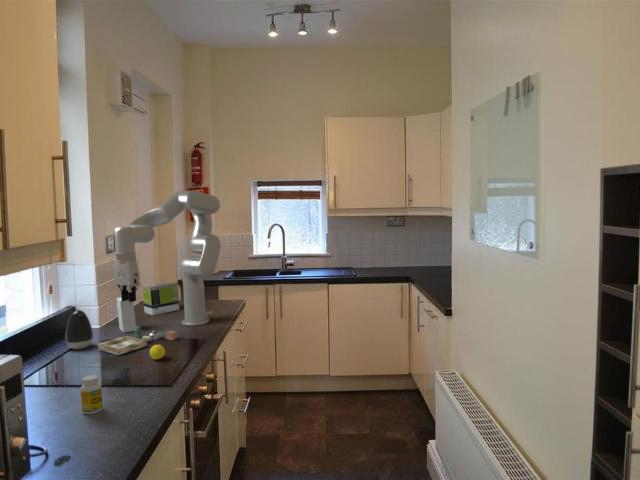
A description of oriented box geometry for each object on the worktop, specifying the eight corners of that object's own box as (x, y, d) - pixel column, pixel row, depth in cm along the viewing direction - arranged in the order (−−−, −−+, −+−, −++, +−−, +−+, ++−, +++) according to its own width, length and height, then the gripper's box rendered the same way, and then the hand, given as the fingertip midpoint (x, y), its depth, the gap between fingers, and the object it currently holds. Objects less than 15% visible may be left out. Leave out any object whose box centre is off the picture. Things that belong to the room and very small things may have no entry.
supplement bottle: (93, 405, 145) (91, 373, 144) (107, 408, 143) (105, 375, 142) (77, 412, 140) (75, 379, 139) (91, 416, 138) (88, 382, 137)
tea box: (170, 307, 272) (169, 280, 270) (179, 310, 264) (178, 282, 263) (143, 312, 261) (142, 284, 260) (152, 315, 254) (150, 286, 253)
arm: (138, 337, 213) (137, 322, 212) (158, 342, 206) (158, 326, 205) (98, 349, 198) (96, 333, 197) (118, 355, 190) (117, 337, 190)
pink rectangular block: (170, 337, 213) (170, 330, 213) (177, 338, 211) (176, 331, 211) (166, 338, 211) (165, 331, 211) (172, 340, 209) (172, 333, 209)
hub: (156, 336, 216) (155, 328, 215) (163, 337, 213) (163, 330, 213) (146, 339, 212) (146, 331, 211) (154, 340, 209) (153, 333, 209)
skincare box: (136, 330, 226) (134, 298, 224) (122, 333, 222) (120, 300, 221) (132, 327, 233) (130, 295, 231) (118, 329, 229) (116, 297, 228)
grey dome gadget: (72, 353, 195) (69, 314, 194) (62, 348, 202) (59, 311, 201) (98, 346, 203) (96, 309, 201) (87, 342, 210) (85, 306, 208)
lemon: (150, 358, 188) (149, 344, 188) (165, 356, 189) (164, 342, 189) (149, 362, 181) (148, 346, 181) (165, 360, 182) (164, 345, 183)
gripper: (104, 257, 206) (107, 301, 208) (132, 258, 199) (135, 304, 200) (119, 255, 213) (122, 297, 215) (147, 256, 205) (150, 300, 207)
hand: (128, 300), depth 207 cm, fingers open, 3 cm apart
